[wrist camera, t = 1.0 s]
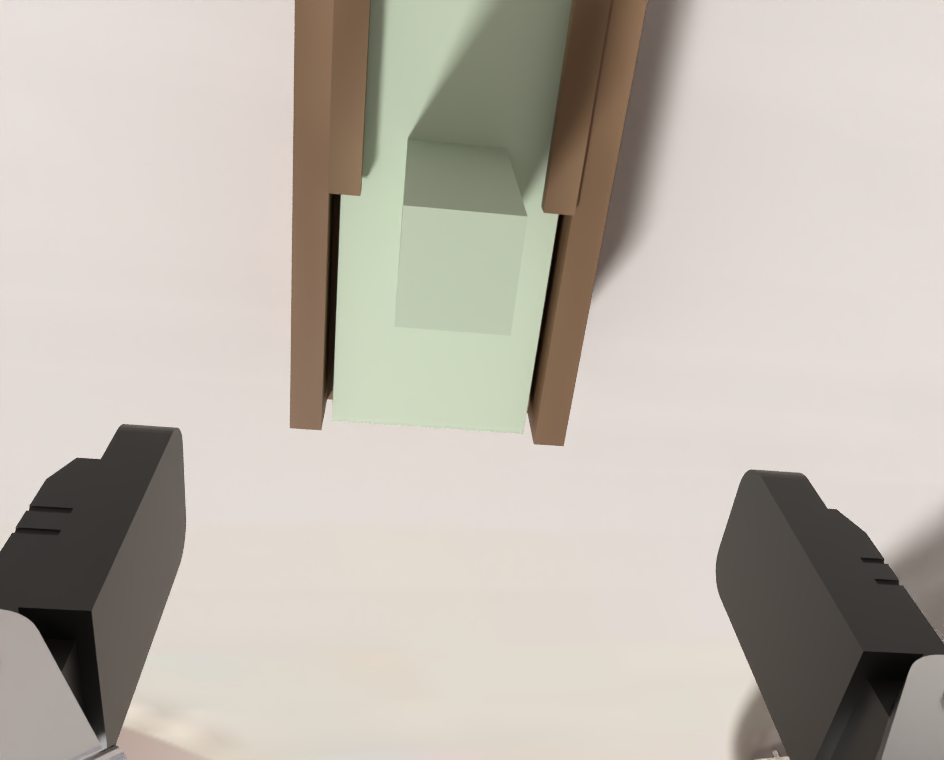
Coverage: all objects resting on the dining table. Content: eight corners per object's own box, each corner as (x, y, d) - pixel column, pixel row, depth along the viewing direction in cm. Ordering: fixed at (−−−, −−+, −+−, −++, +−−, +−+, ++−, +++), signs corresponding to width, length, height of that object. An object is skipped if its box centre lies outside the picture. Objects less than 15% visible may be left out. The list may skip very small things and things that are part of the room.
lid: (599, -104, 23) (666, -100, 17) (519, 412, 31) (544, 549, 25) (357, -134, 23) (331, -143, 16) (335, 399, 31) (312, 537, 24)
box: (606, -28, 28) (651, -8, 23) (542, 361, 35) (564, 451, 29) (320, -62, 27) (294, -49, 22) (310, 344, 34) (288, 433, 28)
